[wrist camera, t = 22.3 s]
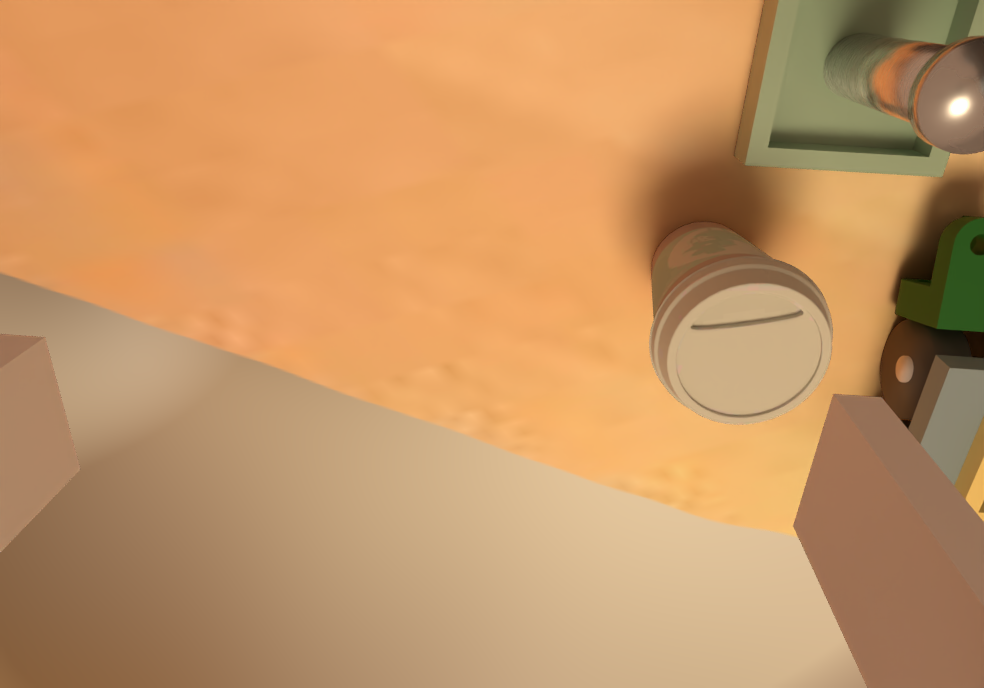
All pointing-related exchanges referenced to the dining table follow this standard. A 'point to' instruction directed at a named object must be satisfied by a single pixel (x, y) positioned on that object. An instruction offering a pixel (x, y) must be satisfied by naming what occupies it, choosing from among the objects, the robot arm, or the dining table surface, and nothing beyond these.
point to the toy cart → (939, 400)
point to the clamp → (950, 282)
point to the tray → (820, 113)
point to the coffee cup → (735, 326)
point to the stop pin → (916, 85)
